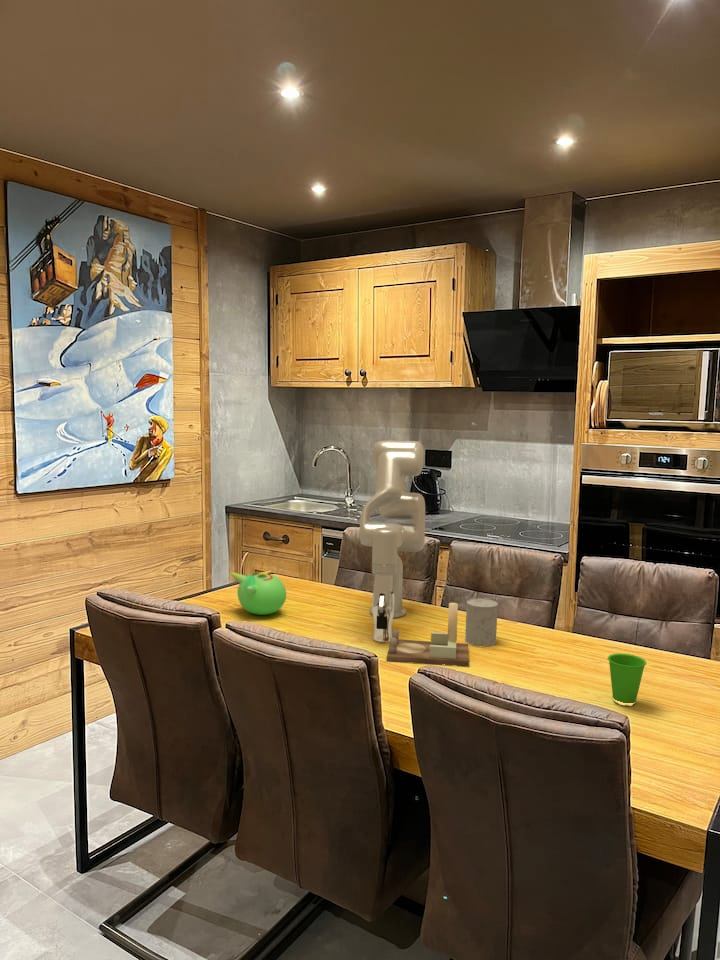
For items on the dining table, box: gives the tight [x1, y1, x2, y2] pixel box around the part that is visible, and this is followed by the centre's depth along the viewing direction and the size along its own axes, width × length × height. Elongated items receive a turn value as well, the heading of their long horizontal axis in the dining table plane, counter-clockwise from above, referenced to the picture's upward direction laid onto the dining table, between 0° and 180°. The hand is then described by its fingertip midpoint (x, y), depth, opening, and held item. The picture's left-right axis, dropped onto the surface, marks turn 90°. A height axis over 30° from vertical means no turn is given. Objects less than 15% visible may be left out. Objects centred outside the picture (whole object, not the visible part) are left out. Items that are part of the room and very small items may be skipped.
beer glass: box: [371, 590, 395, 643], centre depth 224 cm, size 7×7×15 cm
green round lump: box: [229, 570, 287, 616], centre depth 248 cm, size 18×17×15 cm
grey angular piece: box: [429, 602, 459, 659], centre depth 211 cm, size 13×8×14 cm, turn 172°
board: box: [386, 628, 470, 667], centre depth 212 cm, size 15×23×6 cm, turn 82°
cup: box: [607, 652, 647, 703], centre depth 180 cm, size 9×9×11 cm
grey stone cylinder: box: [464, 597, 499, 648], centre depth 224 cm, size 10×10×12 cm
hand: (382, 624), depth 224 cm, fingers closed on beer glass, 6 cm apart
